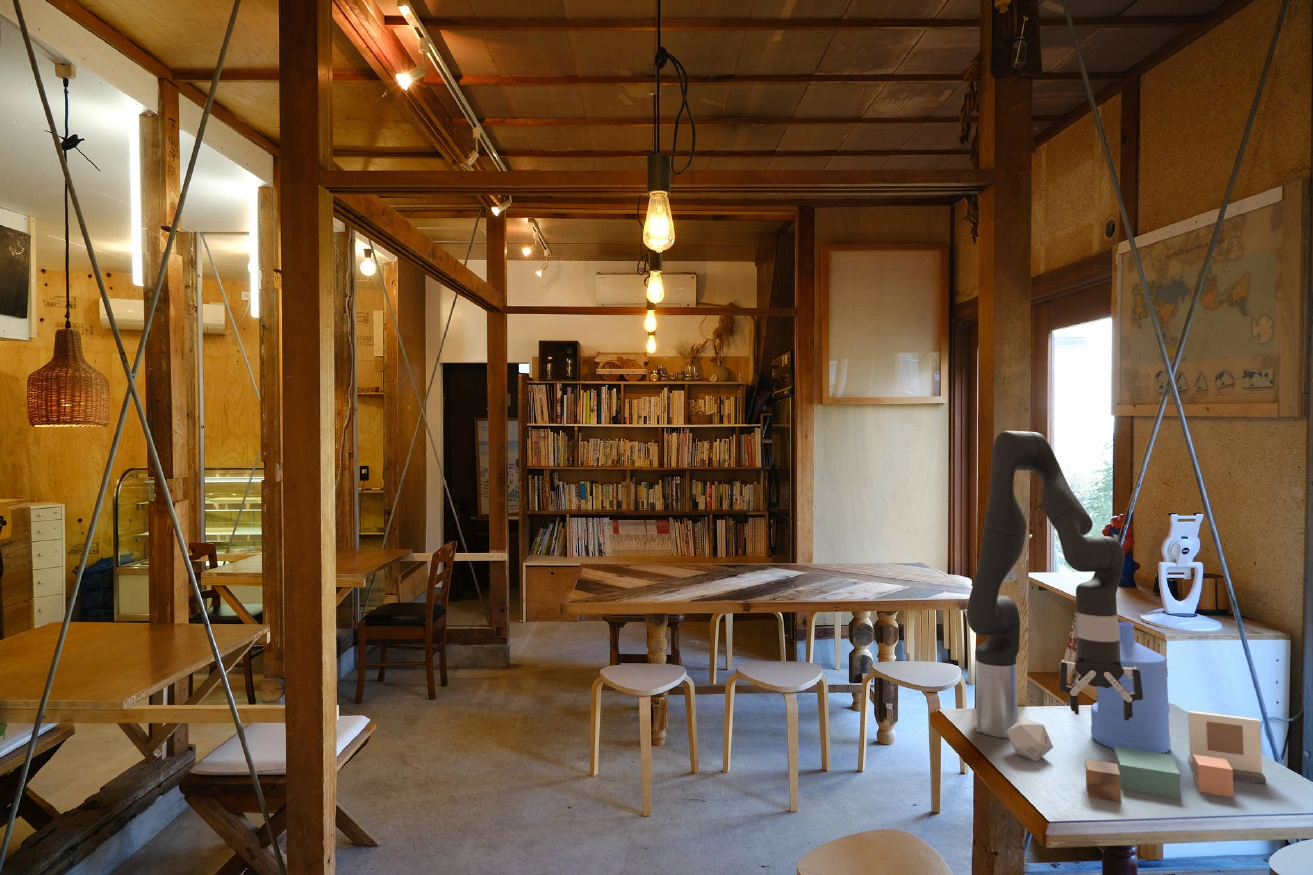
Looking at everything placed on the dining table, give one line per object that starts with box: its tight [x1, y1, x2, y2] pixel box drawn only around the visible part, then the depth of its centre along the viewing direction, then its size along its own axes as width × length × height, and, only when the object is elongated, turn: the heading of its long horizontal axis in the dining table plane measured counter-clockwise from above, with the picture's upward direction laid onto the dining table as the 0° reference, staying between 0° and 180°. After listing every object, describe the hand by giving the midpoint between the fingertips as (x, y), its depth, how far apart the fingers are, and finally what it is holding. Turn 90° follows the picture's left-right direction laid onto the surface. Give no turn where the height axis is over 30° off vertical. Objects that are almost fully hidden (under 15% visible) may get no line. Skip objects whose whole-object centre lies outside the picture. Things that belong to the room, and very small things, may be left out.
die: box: [1006, 717, 1054, 762], centre depth 162 cm, size 8×9×10 cm
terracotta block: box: [1192, 754, 1235, 798], centre depth 145 cm, size 6×6×6 cm
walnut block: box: [1084, 758, 1122, 804], centre depth 143 cm, size 6×6×6 cm
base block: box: [1114, 747, 1182, 799], centre depth 148 cm, size 10×10×5 cm
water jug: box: [1090, 621, 1171, 754], centre depth 168 cm, size 16×16×28 cm
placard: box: [1187, 710, 1267, 784], centre depth 152 cm, size 12×6×12 cm, turn 63°
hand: (1101, 716), depth 143 cm, fingers open, 8 cm apart
